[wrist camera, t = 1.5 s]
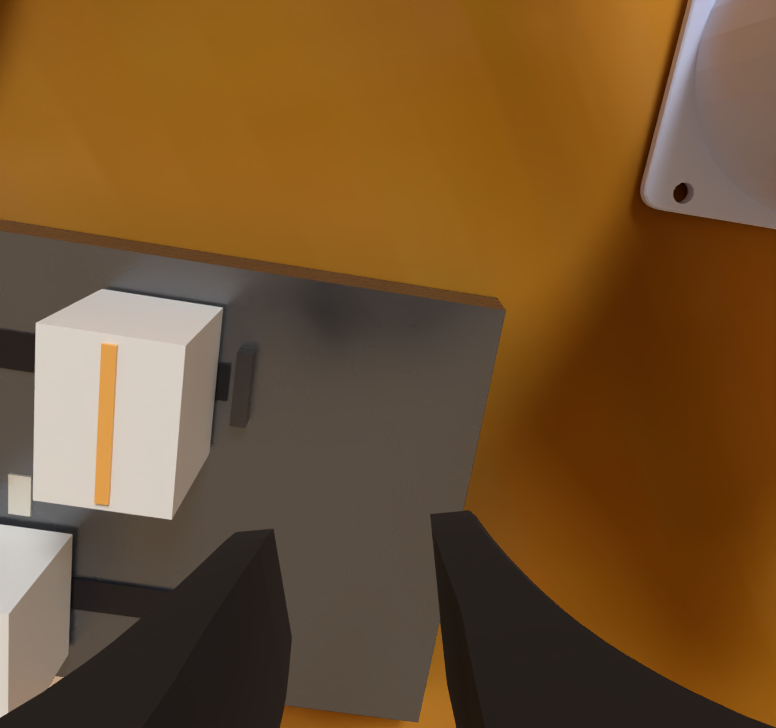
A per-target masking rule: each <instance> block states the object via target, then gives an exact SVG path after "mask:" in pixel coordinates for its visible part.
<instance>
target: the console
mask: <svg viewBox="0 0 776 728" xmlns="http://www.w3.org/2000/svg"><path fill="white" fill-rule="evenodd" d="M101 289H106V290H112V291H119V292H125V293H132V294H138V295H144V296H151V297H157V298H164V299H170V300H177V301H183V302H190V303H196V304H203V305H209V306H216V307H222V308H223V315H222V326H221V336H220V347H219V357H218V368H217V379H216V389H215V400H214V410H213V421H212V431H211V442H210V452H209V455H208V457H207V459H206V460H205V462H204V464H203V466H202V467H201V469H200V471H199V473H198V474H197V476H196V478H195V480H194V481H193V483H192V485H191V487H190V489H189V490H188V492H187V494H186V496H185V497H184V499H183V501H182V503H181V504H180V506H179V508H178V510H177V511H176V513H175V515H174V517H173V518H172V520H169V519H162V518H155V517H148V516H141V515H134V514H126V513H119V512H112V511H105V510H98V509H91V508H84V507H76V506H69V505H62V504H55V503H48V502H41V501H33V457H34V397H35V336H36V323H37V322H38V321H40V320H42V319H44V318H46V317H48V316H50V315H52V314H54V313H56V312H58V311H60V310H62V309H64V308H66V307H68V306H70V305H72V304H73V303H75V302H77V301H79V300H81V299H83V298H85V297H87V296H89V295H91V294H93V293H95V292H97V291H99V290H101ZM505 312H506V310H505V309H504V307H503V306H502V304H501V303H500V302H499V300H498V299H497V298H493V297H487V296H480V295H474V294H468V293H461V292H455V291H449V290H442V289H436V288H430V287H423V286H417V285H411V284H405V283H398V282H392V281H386V280H379V279H373V278H367V277H360V276H354V275H348V274H341V273H335V272H329V271H322V270H316V269H310V268H303V267H297V266H291V265H284V264H278V263H272V262H265V261H259V260H253V259H246V258H240V257H234V256H227V255H221V254H215V253H208V252H202V251H196V250H189V249H183V248H177V247H170V246H164V245H158V244H152V243H145V242H139V241H133V240H126V239H120V238H114V237H107V236H101V235H95V234H88V233H82V232H76V231H69V230H63V229H57V228H50V227H44V226H38V225H31V224H25V223H19V222H12V221H6V220H0V524H2V525H9V526H16V527H23V528H31V529H38V530H45V531H52V532H60V533H67V534H73V539H72V567H71V596H70V624H69V652H68V656H67V658H66V659H65V661H64V663H63V664H62V666H61V667H60V669H59V671H58V672H57V674H56V675H55V676H60V677H65V676H67V675H68V674H70V673H71V672H72V671H74V670H75V669H77V668H78V667H80V666H81V665H82V664H84V663H85V662H87V661H88V660H89V659H91V658H92V657H93V656H95V655H96V654H97V653H99V652H100V651H101V650H103V649H104V648H105V647H107V646H108V645H109V644H110V643H112V642H113V641H114V640H116V639H117V638H118V637H119V636H120V635H121V634H123V633H124V632H125V631H126V630H127V629H129V628H130V627H131V626H132V625H133V624H134V623H136V622H137V621H138V620H139V619H140V618H142V617H143V616H144V615H145V614H146V613H148V612H149V611H150V610H151V609H152V608H153V607H155V606H156V605H157V604H158V603H159V602H161V601H162V600H163V599H164V598H165V597H166V596H167V595H168V594H169V593H170V592H171V591H172V590H174V589H175V588H176V587H177V586H178V585H179V584H180V583H181V582H182V581H183V580H184V579H185V578H186V577H188V576H189V575H190V574H191V573H192V572H193V571H194V570H195V569H196V568H197V567H198V566H199V565H200V564H201V563H202V562H203V561H204V560H205V559H207V558H208V557H209V556H210V555H211V554H212V553H213V552H214V551H215V550H216V549H217V548H218V547H219V546H220V545H221V544H222V543H223V542H224V541H226V540H227V539H228V538H229V537H230V536H231V535H233V534H234V533H235V532H242V531H252V530H263V529H274V534H275V540H276V546H277V552H278V558H279V564H280V570H281V576H282V581H283V587H284V593H285V599H286V605H287V611H288V617H289V623H290V629H291V635H292V644H291V655H290V666H289V676H288V685H287V694H286V701H285V705H286V706H294V707H302V708H310V709H317V710H325V711H333V712H341V713H349V714H356V715H364V716H372V717H380V718H388V719H395V720H403V721H411V722H418V720H419V715H420V711H421V706H422V701H423V697H424V692H425V687H426V683H427V678H428V673H429V668H430V664H431V659H432V654H433V650H434V645H435V640H436V636H437V631H438V626H439V622H440V612H439V602H438V591H437V581H436V570H435V560H434V549H433V539H432V528H431V518H430V514H436V513H446V512H457V511H463V509H464V504H465V499H466V495H467V490H468V485H469V481H470V476H471V471H472V467H473V462H474V457H475V453H476V448H477V443H478V438H479V434H480V429H481V424H482V420H483V415H484V410H485V406H486V401H487V396H488V392H489V387H490V382H491V377H492V373H493V368H494V363H495V359H496V354H497V349H498V345H499V340H500V335H501V330H502V326H503V321H504V316H505Z"/></svg>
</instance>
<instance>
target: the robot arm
mask: <svg viewBox="0 0 776 728" xmlns="http://www.w3.org/2000/svg"><path fill="white" fill-rule="evenodd" d="M680 183H685V184H686V186H687V188H688V194H687V196H686V198H685V199H684V200H682V201H681V202H676V201H675V199H674V197H673V191H674V189H675V187H676V186H677V185H679V184H680ZM640 195H641V198H642V201H643V202H644V203H645V204H646V205H647V206H649V207H651V208H654V209H658V210H663V211H669V212H675V213H681V214H687V215H693V216H699V217H705V218H711V219H718V220H724V221H730V222H736V223H742V224H748V225H754V226H760V227H766V228H772V229H776V0H688V3H687V7H686V11H685V14H684V18H683V22H682V26H681V30H680V34H679V38H678V42H677V46H676V50H675V53H674V57H673V61H672V65H671V69H670V73H669V77H668V81H667V85H666V89H665V93H664V96H663V100H662V104H661V108H660V112H659V116H658V120H657V124H656V128H655V132H654V135H653V139H652V143H651V147H650V151H649V155H648V159H647V163H646V167H645V171H644V175H643V178H642V182H641V187H640ZM430 518H431V528H432V539H433V549H434V560H435V570H436V581H437V591H438V602H439V612H440V623H441V632H442V641H443V651H444V660H445V669H446V678H447V686H448V690H449V695H450V700H451V704H452V709H453V714H454V718H455V723H456V728H775V727H773V726H770V725H767V724H765V723H762V722H759V721H757V720H754V719H751V718H749V717H746V716H744V715H742V714H739V713H737V712H735V711H733V710H731V709H728V708H726V707H724V706H722V705H720V704H718V703H716V702H713V701H711V700H709V699H707V698H705V697H703V696H701V695H698V694H696V693H694V692H692V691H690V690H688V689H686V688H684V687H682V686H680V685H678V684H677V683H675V682H673V681H671V680H669V679H667V678H665V677H663V676H661V675H660V674H658V673H656V672H654V671H653V670H651V669H649V668H648V667H646V666H644V665H642V664H641V663H639V662H637V661H636V660H634V659H632V658H630V657H629V656H627V655H625V654H624V653H622V652H621V651H619V650H618V649H616V648H614V647H613V646H611V645H610V644H608V643H607V642H605V641H604V640H602V639H601V638H600V637H598V636H597V635H595V634H594V633H593V632H591V631H590V630H588V629H587V628H586V627H584V626H583V625H582V624H580V623H579V622H577V621H576V620H575V619H574V618H572V617H571V616H570V615H569V614H568V613H566V612H565V611H564V610H563V609H562V608H560V607H559V606H558V605H557V604H556V603H555V602H554V601H553V600H551V599H550V598H549V597H548V596H547V595H546V594H545V593H544V592H543V591H541V590H540V589H539V588H538V587H537V586H536V585H535V584H534V583H533V582H532V581H531V580H530V579H529V578H528V577H527V576H526V575H525V574H524V573H523V572H522V571H521V570H520V569H519V568H518V567H517V565H516V564H515V563H514V562H513V561H512V560H511V559H510V558H509V557H508V556H507V555H506V554H505V553H504V551H503V550H502V549H501V548H500V547H499V546H498V544H497V543H496V542H495V541H494V540H493V538H492V537H491V536H490V535H489V533H488V532H487V531H486V530H485V528H484V527H483V526H482V524H481V523H480V521H479V520H478V518H477V517H476V516H475V515H474V514H473V513H472V512H470V511H469V510H468V511H457V512H446V513H436V514H430ZM291 644H292V635H291V629H290V623H289V617H288V611H287V605H286V599H285V593H284V587H283V581H282V576H281V570H280V564H279V558H278V552H277V546H276V540H275V534H274V529H263V530H252V531H242V532H235V533H234V534H233V535H231V536H230V537H229V538H228V539H227V540H226V541H224V542H223V543H222V544H221V545H220V546H219V547H218V548H217V549H216V550H215V551H214V552H213V553H212V554H211V555H210V556H209V557H208V558H207V559H205V560H204V561H203V562H202V563H201V564H200V565H199V566H198V567H197V568H196V569H195V570H194V571H193V572H192V573H191V574H190V575H189V576H188V577H186V578H185V579H184V580H183V581H182V582H181V583H180V584H179V585H178V586H177V587H176V588H175V589H174V590H172V591H171V592H170V593H169V594H168V595H167V596H166V597H165V598H164V599H163V600H162V601H161V602H159V603H158V604H157V605H156V606H155V607H153V608H152V609H151V610H150V611H149V612H148V613H146V614H145V615H144V616H143V617H142V618H140V619H139V620H138V621H137V622H136V623H134V624H133V625H132V626H131V627H130V628H129V629H127V630H126V631H125V632H124V633H123V634H121V635H120V636H119V637H118V638H117V639H116V640H114V641H113V642H112V643H110V644H109V645H108V646H107V647H105V648H104V649H103V650H101V651H100V652H99V653H97V654H96V655H95V656H93V657H92V658H91V659H89V660H88V661H87V662H85V663H84V664H82V665H81V666H80V667H78V668H77V669H75V670H74V671H72V672H71V673H70V674H68V675H67V676H65V677H64V678H62V679H61V680H60V681H58V682H57V683H55V684H54V685H52V686H51V687H49V688H48V689H46V690H45V691H43V692H42V693H40V694H38V695H37V696H35V697H34V698H32V699H30V700H29V701H27V702H25V703H24V704H22V705H20V706H19V707H17V708H15V709H14V710H12V711H10V712H9V713H7V714H5V715H4V716H2V717H0V728H280V723H281V719H282V714H283V710H284V705H285V701H286V694H287V685H288V676H289V666H290V655H291Z"/></svg>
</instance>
